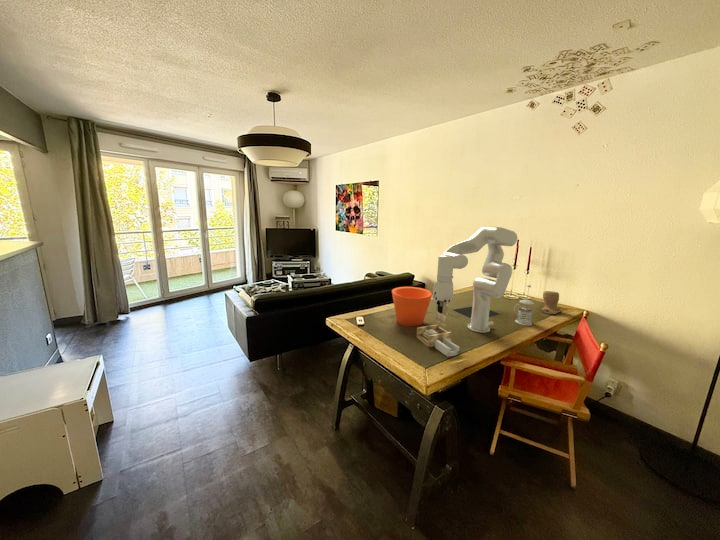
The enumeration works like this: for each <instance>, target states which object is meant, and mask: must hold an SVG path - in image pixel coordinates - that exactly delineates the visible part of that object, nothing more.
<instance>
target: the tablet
mask: <svg viewBox="0 0 720 540" xmlns="http://www.w3.org/2000/svg"><path fill="white" fill-rule="evenodd" d="M451 311H452V312H454V313H456V314H458V313H459V314H458V315H461V316H463V317H466V318H468V319H470V320H471V315H472V306H466V307H461V308H455V309H452V310H451ZM501 315H502V314H501V313H498V312H496V311H494V310H491V309H490V311H489V318H492V317H496V316H501Z"/></svg>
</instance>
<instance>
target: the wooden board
mask: <svg viewBox="0 0 720 540" xmlns="http://www.w3.org/2000/svg"><path fill="white" fill-rule="evenodd" d="M439 302H440V301H439ZM449 303H450V302H449ZM449 303H447V302H445V301H442V306H443V309H442V313H439V312H438V305H437V304H436V306H435V307H436V308H435V310H436V311H435V322H437V323H438V324H439V325H440V324H441V326H448V317H449V314H448V313H449Z"/></svg>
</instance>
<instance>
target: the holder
mask: <svg viewBox="0 0 720 540" xmlns="http://www.w3.org/2000/svg"><path fill="white" fill-rule="evenodd" d="M433 348H435V349H436V350H437V351H439V352H441V353H442V354H443V356H446V357H448V358H450V357H454V356H458V355H459V354H460V346H459V345H458V344H455V343H454V342H453V341H452V340H451V341H450V340H448V339H446V338H443V341H442V342H441V341H439V340H438V339H436V340H435V343H434V346H433Z"/></svg>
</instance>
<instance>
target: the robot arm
mask: <svg viewBox="0 0 720 540" xmlns="http://www.w3.org/2000/svg"><path fill="white" fill-rule="evenodd" d="M517 242H518V235H517V233H516V232H515V231H513V230H510V229H507V228H504V227H501V226H488V225H487V226H485V225H484V226H482V227H479V229H477V231H475V232H474V233H473V234H472V235H471V236H470V237H468V239H466V240H462V241H460V242H457V243H455V244H453V245H451V246H450V247H448V248H447V249H446V250H445V251H444V252H443V253H442V254H440V255H439V256H438V258H437V259H438V261H437V271H436V272H437V273H436V274H437V275H436V280H435V282H434V285H433V288H432V289H433V290H432V302H433V303H434V304H436V306H437V305H438V312H439V313H442V309H443V306H442V301H445V302H447V303H450V302H451V301H453V300H454V298H453V296H454V282H453V278H454V275H453V273H454V269H455V270H456V269H457V270H460V269H465V268H466V267H467V266H468V265H469V259H468V257H467V256H466V255H467V254H474V253H478V252H479V251H481V249H483V247H485V246H486V245H487V247H488V252H487V255H486V258H485V260H484V263H483V265H482V269H481V273H482V275H483V276H485V277H482V276H481V277H476V278H475V279H474V280H473V282H472V290H473V292H472V293H473V297H472V298H473V299H472V306H471V307H472V315H471V319H470V323H467V328H468V329H469V330H470V331H472V332H476V333H481V334H484V333H485V334H486V333H489V332H491V328H490V326H492V325H494V322H493V321H492V320H491V321H489V318H490V317H489V311H490V310H491V298H490V297H492V298H495V299H500V298H502V297H503V296H504V294H505V293H506V290H507V289H508V285H509V284H510V281H511V278H512V274H513V268H512V266H511V264H509V263H506V262H503V259H504V256H505V252H504V249H503V246H504V247H513V246H515V245H516V244H517ZM488 277H489V278H488ZM491 278H493V279H491ZM439 301H440V302H439Z"/></svg>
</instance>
